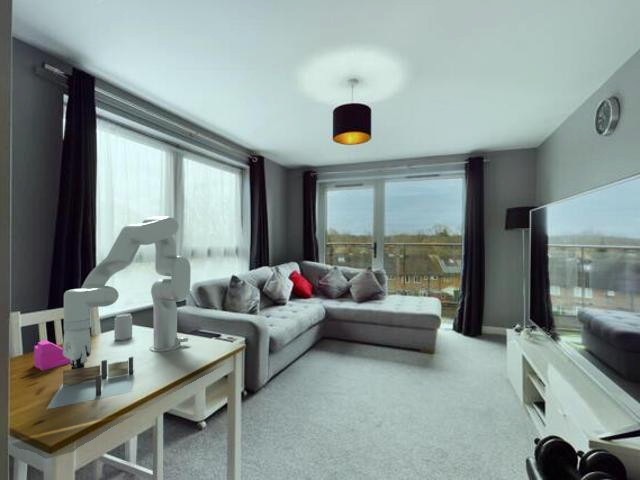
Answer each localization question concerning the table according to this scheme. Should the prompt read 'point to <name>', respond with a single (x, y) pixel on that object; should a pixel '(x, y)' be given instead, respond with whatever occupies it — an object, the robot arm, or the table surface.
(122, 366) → the fence fixed
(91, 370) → the gate
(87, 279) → the robot arm
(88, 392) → the card
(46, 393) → the table surface
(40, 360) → the magenta wedge-shaped piece
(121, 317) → the can
